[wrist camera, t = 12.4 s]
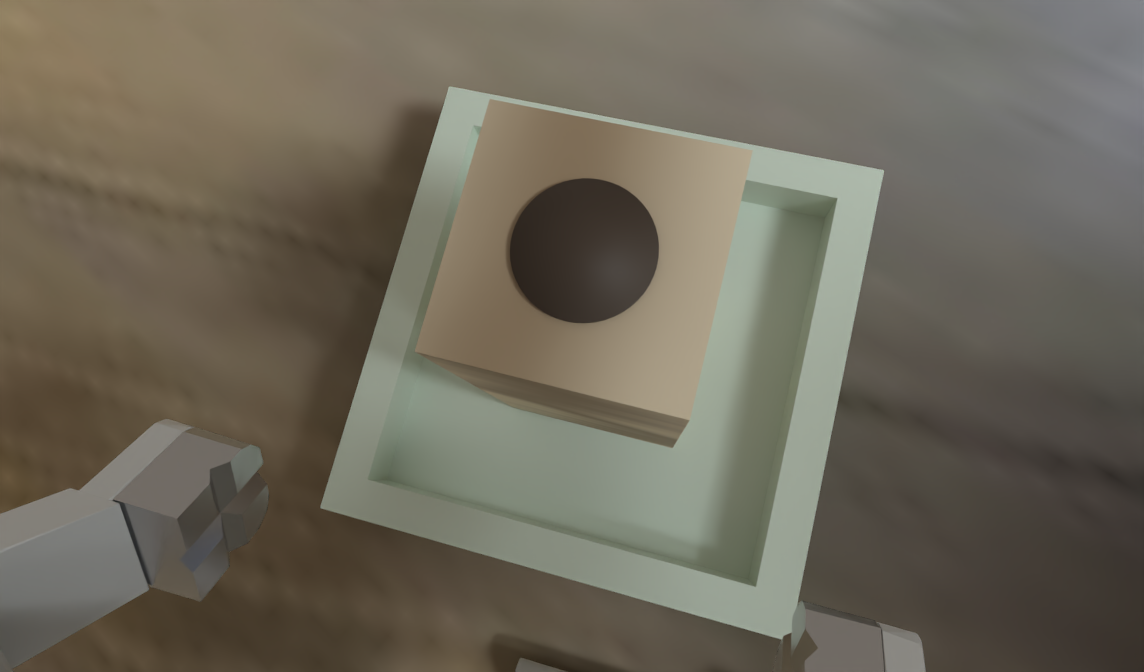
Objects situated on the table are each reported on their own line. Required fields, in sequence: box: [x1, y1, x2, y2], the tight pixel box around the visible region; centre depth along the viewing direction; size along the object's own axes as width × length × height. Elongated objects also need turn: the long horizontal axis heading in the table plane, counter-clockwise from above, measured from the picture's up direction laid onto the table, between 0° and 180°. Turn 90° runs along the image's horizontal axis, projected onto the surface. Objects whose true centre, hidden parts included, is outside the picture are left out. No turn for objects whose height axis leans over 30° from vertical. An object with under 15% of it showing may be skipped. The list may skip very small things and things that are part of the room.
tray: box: [320, 86, 884, 640], centre depth 21 cm, size 12×12×2 cm
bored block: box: [415, 99, 753, 448], centre depth 17 cm, size 5×4×9 cm
